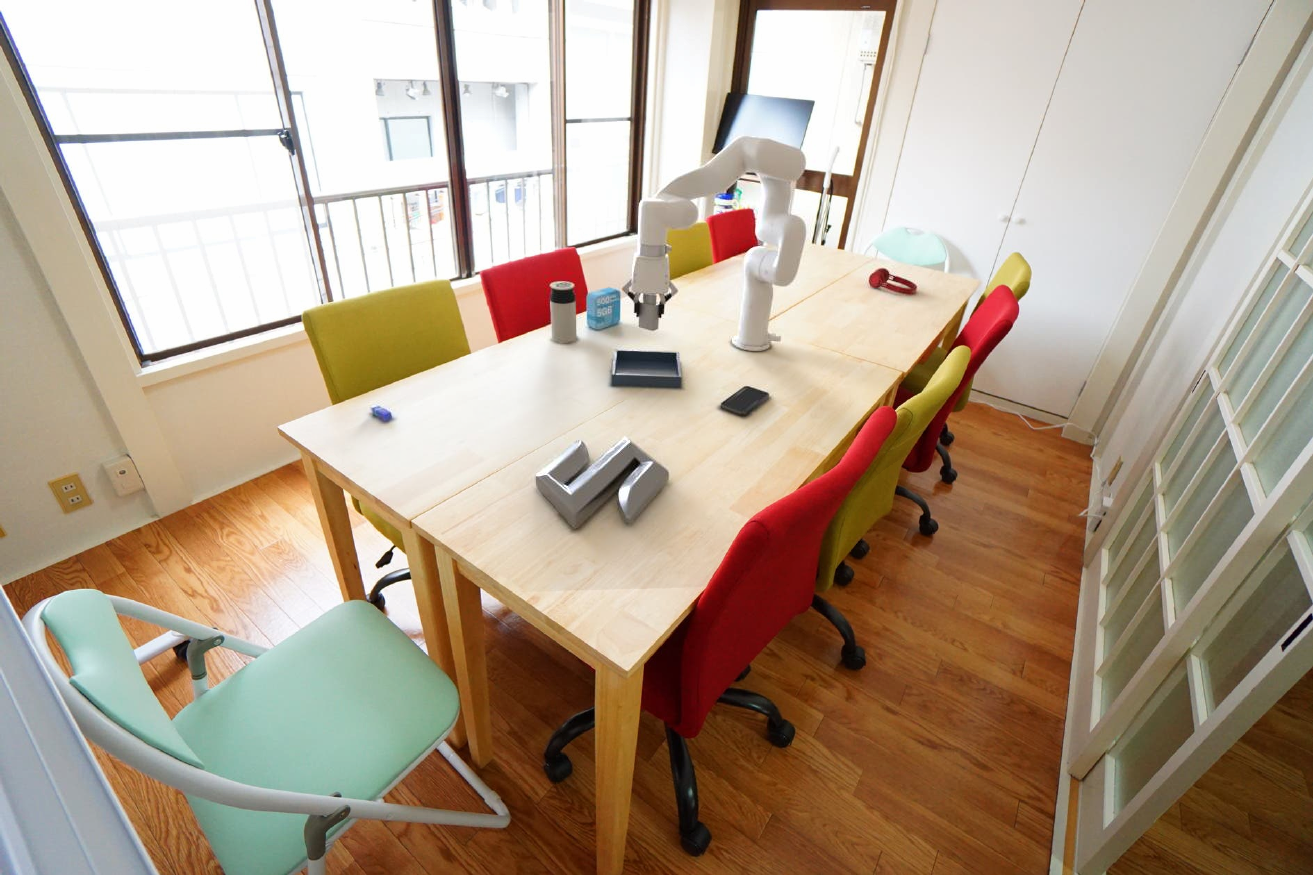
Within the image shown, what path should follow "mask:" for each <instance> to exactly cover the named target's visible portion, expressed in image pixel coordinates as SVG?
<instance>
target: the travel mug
mask: <svg viewBox="0 0 1313 875" xmlns="http://www.w3.org/2000/svg"><path fill="white" fill-rule="evenodd" d="M549 287H550V288H551V289H550V290H551V292H550V293H549V307H550V309H549V310H550V325H551V326H550V327H551V340H552V341H553V342H556V343H560V344H568V343H569V344H570V343H572V342H574V341H576V340H577V307H576V306H577V304H576V303H577V302H576V301H577V300H576V293H575V291H574V288H575V284H574V283H573V282H571V281H562V280H561V281H554V282H551V283H550V284H549Z"/></svg>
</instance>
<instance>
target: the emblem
mask: <svg viewBox="0 0 1313 875" xmlns="http://www.w3.org/2000/svg"><path fill="white" fill-rule="evenodd" d="M669 479H670V473H669V470H668V469H667V468H666V467H665V466H664V465H662V463H660V462H658V460H656V458H653V457H652V456H651V455H649V454H648V453H647V452H646V451H645V450H644V449H642V448H641V447H639V446H638V445H637V444H636V443H634V442H633V441H632V440H631V439H630V438H628V437H627V436H623V437H621V439H619V441H617V442H616V443H615V444H614V445H612V446H611V447H610V448H609V449H608V450H607V451H606V452H605V453H603V454H602V455H601V456H600V457H599V458H597V460H596V461H595V462H593V463H592V464H591V465H590V453H589V449H588V447H587V445H586V444H585V442H584V441H583V440H582V439H577V440H576V441H574V442H573V443H572V444H571V445H570V446H569V447H568V448H566V450H564V451H563V452H562V453H561V454H560V455H558V456H557V457H555V459H554V460H552V461H551V462H550V463H549V464H547V465H546V466H545V467H544V468H543V469H542V470H540V471H539V472H537V474H536V475H535V485H536V488H537V489H538V490H539V491H540V492H541V494H542V495H543V496H544V497H545V498H546V499H547V500H548V502H549V503H550V504H551V505H552V506H553V507H554V508H555V510H557V512H558V513H559V514H560V515H561V517H563V518H564V520H565V521H566V522H567V523H568V524H569V525H570V527H571V528H572V529H574V530H577V529H579V528H580V527H581V526H582V525H583V524H584V523H585V522H586V521H587V520H588V519H589V518H590V517H591V516H592V515H594V514H595V513H596V512H597V511H598V510H599V509H600V507H602V506H603V504H605V503H606V502H607V501H608V500H609V499H610V498H611V497H612V496H613V495H614V494H615V493H616V492H617V491H618V492H617V508H618V511H619V514H620V516H621V519H622V520H623V522H624V523H626V524H629V525H631V524H633V523H634V521H636V519H637V518H638V516H640V515H641V513H642V512H643V511H644V510H645V508H647V507H648V505H649V504H650V503H651V502H652V501H653V499H654V498H656V496H657V495H658V494H659V493H660V491H661V490H662V489H663V488H664V487H665V486H666V484H668V482H669Z"/></svg>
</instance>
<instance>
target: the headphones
mask: <svg viewBox="0 0 1313 875" xmlns="http://www.w3.org/2000/svg"><path fill="white" fill-rule="evenodd" d="M888 281H890V282H888ZM891 282H893V283H897V284H900V285H903V286H905V287H902V286H899V285H895V284H893V283H891ZM868 284H869V286H871V287H872V288H874V289H879V288H884V289H886V290H889V291H892V292H895V293H898V294H902V295H914V294H915V293H916V291H917V289H918V286H917V284H916V283H914V282H913V281H911V280H909V279H907V278H903V277H901V276H898V275H894V274H891V273H890V271H889V270H888V269H887V268H885V267H880V268H877V269H875V271H874V272H872V273H870V275H869V277H868Z"/></svg>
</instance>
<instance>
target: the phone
mask: <svg viewBox="0 0 1313 875" xmlns="http://www.w3.org/2000/svg"><path fill="white" fill-rule="evenodd" d="M769 398H770V393H769V392H768V391H764V390H761V389H758V388H756V387H753V386H749V385H745V386H743V387H741V388H740V389H739V390H737V391H736V392H734V393H733V394H732V395H730V396H728V397H727V398H726V399H724V400H723V401H722V402H720V409H721V410H723V411H726V412H728V413H731V414H734V415H737V416H739V417H748V415H750V414H751V413H752V412H753V411H754V410H756V409H757V408H758V407H760V406H761V405H762V404H763V403H764V402H766V401H768V399H769Z"/></svg>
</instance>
